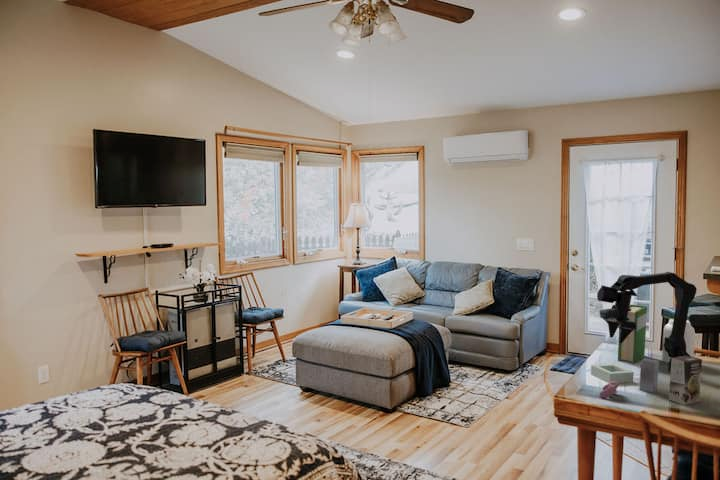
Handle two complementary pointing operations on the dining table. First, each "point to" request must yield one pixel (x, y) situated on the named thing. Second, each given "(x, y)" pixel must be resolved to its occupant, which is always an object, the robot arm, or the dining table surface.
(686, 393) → the coffee box
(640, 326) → the hardback book
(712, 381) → the dining table surface
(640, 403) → the dining table surface
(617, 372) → the well block
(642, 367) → the gray rectangular block
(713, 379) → the dining table surface
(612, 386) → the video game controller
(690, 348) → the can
